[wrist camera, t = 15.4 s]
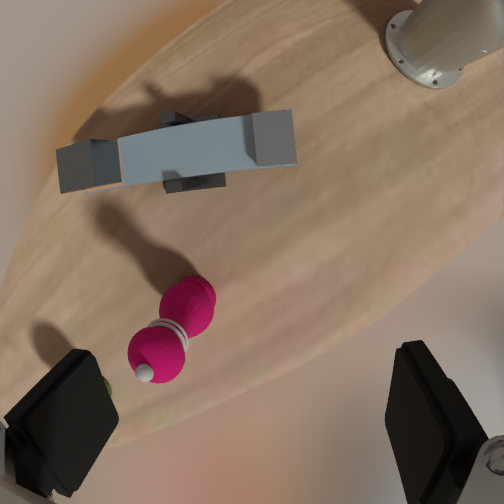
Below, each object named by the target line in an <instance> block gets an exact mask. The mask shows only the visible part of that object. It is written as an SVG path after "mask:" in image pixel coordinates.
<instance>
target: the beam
mask: <svg viewBox="0 0 504 504" xmlns="http://www.w3.org/2000/svg"><path fill="white" fill-rule="evenodd" d="M109 141H118V149H119V159H120V168H121V177H122V182H120V183H115V184H110V185H105V186H100V187H95V188H90V189H86V194H89V193H94V192H99V191H104V190H109V189H115V188H120V187H126V186H132V185H138V184H144V183H150V182H156V181H163V180H169V179H176V178H183V177H190V176H198V175H206V174H214V173H222V172H231V171H240V170H250V169H261V168H272V167H284V166H296V164H297V158H296V148H295V138H294V128H293V119H292V110H280V111H268V112H258V113H252V115H244V116H236V117H228V118H221V119H214V120H208V121H201V122H195V123H189V124H183V125H178V126H173V127H167V128H162V129H157V130H152V131H148V132H143V133H139V134H134V135H130V136H126V137H121V138H117V139H113V140H109Z"/></svg>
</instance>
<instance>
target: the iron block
mask: <svg viewBox="0 0 504 504" xmlns="http://www.w3.org/2000/svg"><path fill="white" fill-rule="evenodd" d="M56 156H57V167H58V176H59V184H60V192H61V194H63V193H68V192H73V191H79V190H85V189H90V188H95V187H100V186H105V185H110V184H115V183H120V182H122V177H121V168H120V159H119V149H118V141H108V140H96V139H89V140H86V141H82V142H79V143H76V144H73V145H69V146H66V147H63V148H60V149H57V150H56Z"/></svg>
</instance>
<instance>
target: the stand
mask: <svg viewBox="0 0 504 504" xmlns="http://www.w3.org/2000/svg"><path fill="white" fill-rule="evenodd" d="M214 119H219V114H218V113H215V114H208V115H202V116H196V117H190V118H188V117H186V116H184V115H182V114H180V113H178V112H176V111H171V112H167V113H162V114H161V122H162V123H159V129H162V128H167V127H173V126H178V125H183V124H189V123H195V122H201V121H208V120H214ZM224 186H226V179H225V172H222V173H214V174H206V175H198V176H190V177H183V178H176V179H169V180H165V188H166V194H167V193H175V192H182V191H190V190H198V189H207V188H215V187H224Z"/></svg>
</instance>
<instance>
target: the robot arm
mask: <svg viewBox="0 0 504 504" xmlns="http://www.w3.org/2000/svg"><path fill="white" fill-rule="evenodd" d="M391 27H392V28H391ZM385 45H386V48H387V51H388V54H389V56H390V58H391V60H392V61H393V63H394V64H395V66H396V67H397V68H398V69H399V70H400V71H401V72H402V74H404V75H405V76H406V77H407V78H408V79H410V80H411V81H413V82H415V83H416V84H418V85H421V86H423V87H426V88H431V89H442V88H446V87H449V86H451V85H453V84H454V83H456V82H457V81H458V80H459V78H460V77H461V75H462V73H463V69H464V66H466V65H468V64H470V63H472V62H474V61H476V60H478V59H480V58H483V57H485V56H487V55H489V54H491V53H493V52H495V51H497V50H500V49H502V48H504V0H422V1H421V2H420V3H419V5H418V6H417V7H416V8H415V9H414V10H405V11H402V12H399V13H397V14H396V15H394V16H393V18H392V19H391V20H390V21H389V23H388V24H387V27H386V30H385ZM399 62H400V63H401V64H400V63H399ZM433 83H434V84H433ZM4 419H5V420H6V422H7V424H8V425H9V427H8V428H7V429H6V428H5V426H4V424H3V423H2V422H0V504H57V503H55V502H54V499H53V495H52V490H53V489H55V490H56V492H57V493H59V494H61V495H64V496H66V497H69V498H70V497H71V496H72V494H73V492H74V491H77V490H78V489H79V487H80V486H81V484H82V482H83V481H84V479H85V477H86V475H87V474H88V472H89V470H90V469H91V467H92V465H93V464H94V462H95V460H96V459H97V457H98V456H99V454H100V452H101V451H102V449H103V447H104V446H105V444H106V442H107V441H108V439H109V437H110V436H111V434H112V433H113V431H114V429H115V428H116V426H117V424H118V421H119V417H118V413H117V411H116V409H115V406H114V404H113V402H112V399H111V397H110V394H109V392H108V389H107V387H106V384H105V382H104V379H103V377H102V374H101V371H100V369H99V366H98V363H97V361H96V358H95V357H94V355H92V353H91V352H90V351H88V350H82V349H73V350H71V351H70V352H69V353H68V354H67V355H66V356H65V357H64V358H63V359H62V360H61V361H60V362H58V363H57V364H56V365H55V366H54V367H53V368H52V369H51V370H50V371H49V372H48V373H47V374H46V375H45V376H44V377H43V378H42V379H41V380H40V381H39V382H38V383H37V384H36V385H35V386H34V387H33V388H32V389H31V390H30V391H29V392H28V393H27V394H26V395H25V396H24V397H23V398H22V399H21V400H20V401H19V402H18V403H17V404H16V405H15V406H14V407H13V408H12V409H11V410H10V411H9V412H8V413H7V414H6V415H5V416H4ZM385 425H386V429H387V432H388V435H389V438H390V442H391V445H392V449H393V452H394V455H395V459H396V463H397V466H398V470H399V473H400V477H401V481H402V484H403V488H404V492H405V496H406V500H407V503H408V504H504V435H501V436H495V437H493V438H491V439H489V438H488V437H487V435H486V433H485V431H484V430H483V428H482V426H481V425H480V423H479V421H478V420H477V418H476V416H475V415H474V413H473V411H472V410H471V408H470V407H469V405H468V403H467V402H466V400H465V399H464V397H463V395H462V394H461V392H460V391H459V389H458V388H457V386H456V384H455V383H454V382H453V381H452V380H451V379H449V378H447V376H446V375H445V373H444V372H443V370H442V369H441V367H440V366H439V364H438V362H437V361H436V359H435V358H434V356H433V355H432V354H431V352H430V351H429V349H428V348H427V346H426V345H425V344H424V342H423V341H422V340H417V341H410V342H404V343H403V344H402V346H401V348H398V349H396V353H395V359H394V367H393V374H392V380H391V386H390V392H389V398H388V403H387V408H386V413H385Z"/></svg>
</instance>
